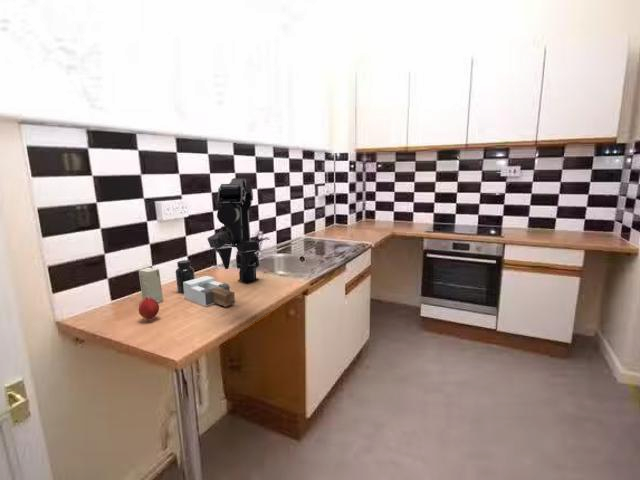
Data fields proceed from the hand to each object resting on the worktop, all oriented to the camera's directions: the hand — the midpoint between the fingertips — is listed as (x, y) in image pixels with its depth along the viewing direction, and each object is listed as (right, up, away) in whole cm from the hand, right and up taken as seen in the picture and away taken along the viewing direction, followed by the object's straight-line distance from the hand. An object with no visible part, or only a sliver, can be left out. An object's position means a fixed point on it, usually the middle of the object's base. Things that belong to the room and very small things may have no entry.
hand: (235, 270), depth 111 cm
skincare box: (-33, -13, +12) cm, 37 cm away
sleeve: (-14, -12, +15) cm, 24 cm away
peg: (-7, -12, +9) cm, 17 cm away
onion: (-26, -16, -3) cm, 31 cm away
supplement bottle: (-25, -10, +23) cm, 36 cm away
